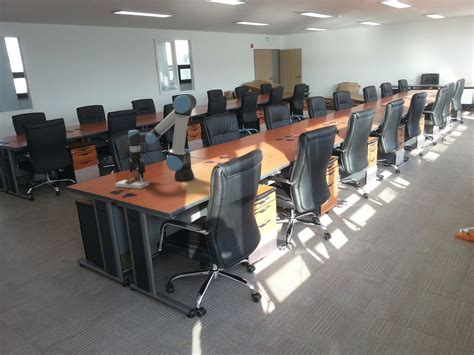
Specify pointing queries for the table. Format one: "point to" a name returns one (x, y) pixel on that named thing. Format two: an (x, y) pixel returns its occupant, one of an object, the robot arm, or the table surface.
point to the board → (132, 184)
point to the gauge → (134, 176)
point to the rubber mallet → (127, 148)
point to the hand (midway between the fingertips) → (138, 181)
